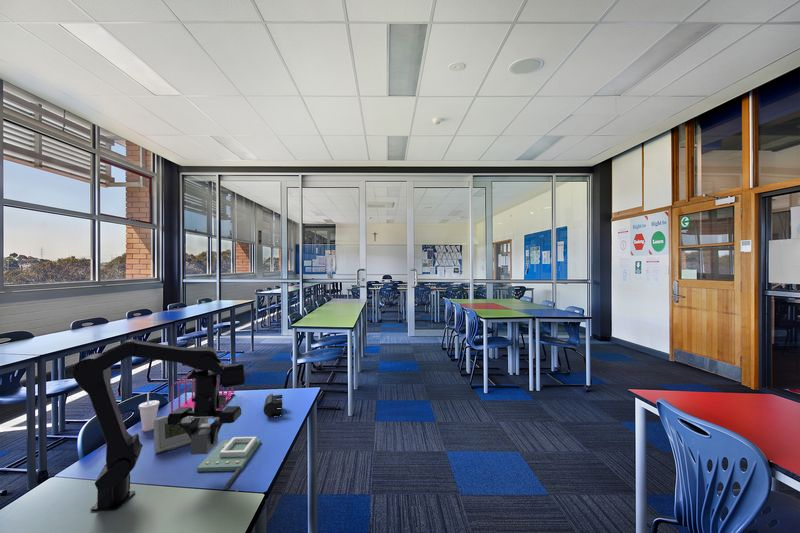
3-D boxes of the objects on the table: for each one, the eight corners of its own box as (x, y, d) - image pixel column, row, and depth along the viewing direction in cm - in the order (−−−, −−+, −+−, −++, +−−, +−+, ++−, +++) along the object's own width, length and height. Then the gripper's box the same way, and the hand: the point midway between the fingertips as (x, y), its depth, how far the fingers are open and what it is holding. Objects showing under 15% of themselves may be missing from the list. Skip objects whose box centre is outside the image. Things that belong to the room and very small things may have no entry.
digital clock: (151, 456, 104) (152, 423, 105) (154, 443, 112) (155, 413, 112) (209, 442, 113) (209, 412, 113) (208, 431, 121) (208, 403, 121)
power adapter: (265, 409, 140) (265, 394, 141) (282, 407, 143) (282, 392, 143) (263, 419, 131) (263, 402, 131) (281, 417, 133) (281, 400, 133)
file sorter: (167, 420, 130) (168, 381, 130) (196, 396, 155) (197, 364, 155) (213, 417, 133) (214, 379, 133) (234, 394, 157) (235, 362, 158)
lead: (227, 490, 88) (227, 486, 88) (223, 490, 88) (223, 486, 88) (245, 464, 100) (245, 461, 100) (242, 464, 100) (242, 461, 100)
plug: (207, 454, 91) (207, 432, 91) (190, 454, 91) (191, 433, 91) (217, 442, 97) (218, 423, 97) (202, 443, 97) (202, 423, 97)
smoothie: (133, 431, 120) (134, 394, 120) (150, 423, 126) (151, 388, 126) (146, 434, 118) (147, 396, 119) (163, 425, 125) (164, 390, 125)
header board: (241, 470, 97) (241, 461, 97) (197, 471, 96) (197, 462, 96) (260, 442, 113) (260, 434, 113) (223, 443, 112) (223, 435, 112)
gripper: (249, 381, 103) (248, 429, 102) (189, 382, 102) (188, 431, 101) (233, 394, 92) (232, 448, 91) (166, 395, 90) (164, 450, 90)
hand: (204, 444), depth 94 cm, fingers closed on plug, 4 cm apart
